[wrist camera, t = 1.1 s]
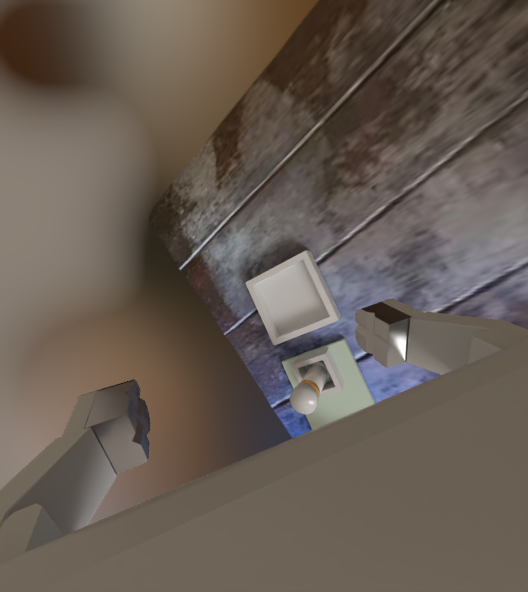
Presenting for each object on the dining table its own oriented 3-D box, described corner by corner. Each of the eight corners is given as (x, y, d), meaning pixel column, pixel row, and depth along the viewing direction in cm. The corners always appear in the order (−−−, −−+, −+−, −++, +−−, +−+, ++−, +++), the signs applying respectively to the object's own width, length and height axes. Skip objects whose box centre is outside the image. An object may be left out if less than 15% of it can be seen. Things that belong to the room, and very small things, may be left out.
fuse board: (345, 338, 45) (341, 345, 41) (404, 463, 44) (406, 482, 40) (283, 360, 50) (275, 368, 46) (335, 473, 49) (331, 491, 45)
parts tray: (310, 250, 45) (305, 250, 43) (341, 316, 45) (338, 320, 42) (252, 281, 50) (245, 282, 48) (279, 340, 50) (273, 345, 47)
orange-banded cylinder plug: (325, 357, 46) (309, 385, 36) (334, 377, 45) (321, 410, 35) (306, 363, 47) (285, 392, 37) (315, 383, 47) (296, 416, 37)
